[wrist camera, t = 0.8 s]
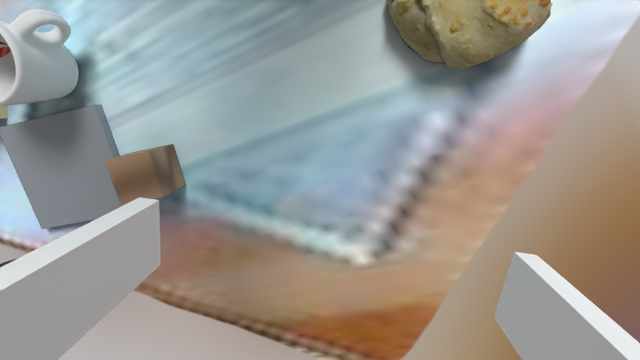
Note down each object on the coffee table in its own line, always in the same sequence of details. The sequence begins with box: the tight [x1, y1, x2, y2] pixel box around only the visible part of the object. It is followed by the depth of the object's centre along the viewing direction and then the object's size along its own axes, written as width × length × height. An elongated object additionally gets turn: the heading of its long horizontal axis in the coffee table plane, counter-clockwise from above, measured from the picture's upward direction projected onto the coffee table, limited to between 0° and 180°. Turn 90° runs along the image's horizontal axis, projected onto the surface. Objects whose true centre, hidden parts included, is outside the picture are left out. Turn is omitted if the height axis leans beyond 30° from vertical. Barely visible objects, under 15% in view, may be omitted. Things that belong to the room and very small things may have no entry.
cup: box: [0, 9, 79, 106], centre depth 32 cm, size 11×8×8 cm
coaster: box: [0, 105, 125, 229], centre depth 38 cm, size 13×13×1 cm
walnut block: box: [104, 144, 186, 205], centre depth 36 cm, size 5×5×5 cm
